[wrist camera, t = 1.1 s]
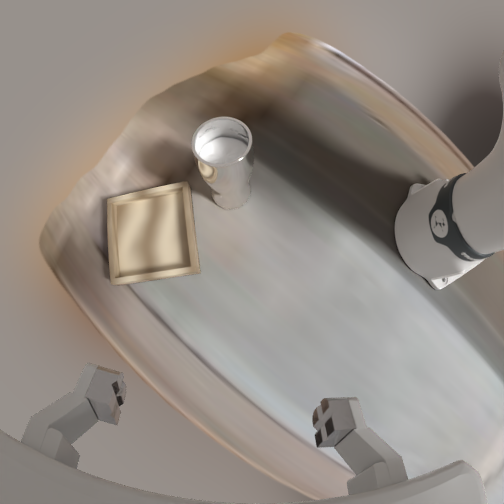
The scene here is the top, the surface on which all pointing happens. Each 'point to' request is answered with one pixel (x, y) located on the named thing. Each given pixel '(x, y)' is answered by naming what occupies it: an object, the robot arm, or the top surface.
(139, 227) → the oak tray
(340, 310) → the top surface
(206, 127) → the beer glass
